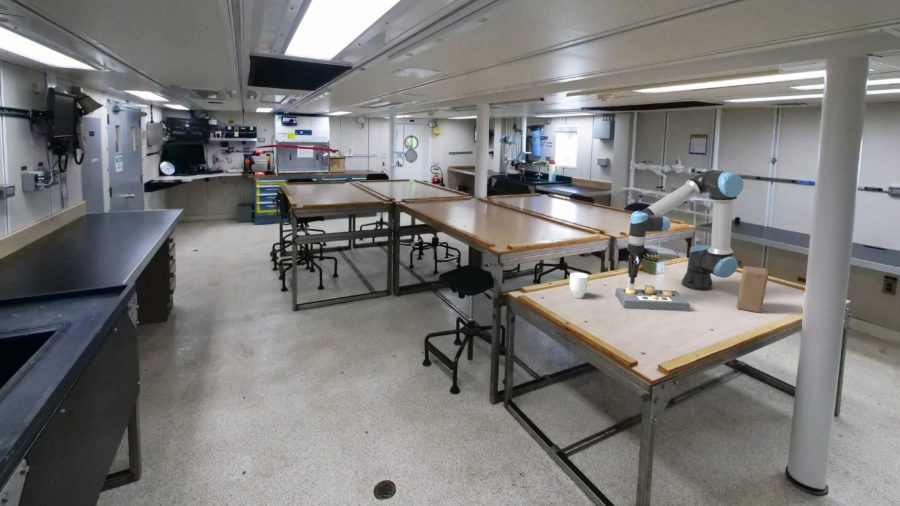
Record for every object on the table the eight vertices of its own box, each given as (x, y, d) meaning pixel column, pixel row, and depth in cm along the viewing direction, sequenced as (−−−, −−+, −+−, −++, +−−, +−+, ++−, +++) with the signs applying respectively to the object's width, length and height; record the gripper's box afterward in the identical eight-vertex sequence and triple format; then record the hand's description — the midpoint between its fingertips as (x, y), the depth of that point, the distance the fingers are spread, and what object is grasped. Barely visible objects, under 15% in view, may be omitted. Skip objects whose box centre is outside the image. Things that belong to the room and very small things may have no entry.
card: (668, 298, 228) (669, 295, 228) (672, 301, 224) (672, 298, 223) (637, 296, 230) (637, 293, 230) (640, 300, 225) (640, 297, 225)
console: (675, 298, 240) (676, 290, 239) (688, 311, 222) (689, 303, 221) (615, 295, 243) (616, 288, 242) (623, 308, 226) (624, 300, 225)
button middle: (652, 293, 238) (653, 285, 237) (654, 296, 233) (656, 288, 232) (642, 293, 238) (643, 285, 237) (645, 296, 234) (646, 288, 233)
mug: (589, 299, 237) (590, 276, 234) (573, 300, 236) (574, 278, 233) (579, 291, 248) (580, 270, 245) (564, 292, 247) (565, 271, 244)
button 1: (633, 296, 239) (634, 288, 238) (636, 299, 235) (637, 291, 233) (623, 295, 240) (624, 287, 239) (626, 298, 235) (627, 290, 234)
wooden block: (760, 313, 220) (768, 273, 215) (736, 309, 225) (743, 270, 220) (760, 307, 229) (768, 268, 223) (736, 303, 234) (743, 265, 228)
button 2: (669, 298, 237) (670, 290, 236) (673, 301, 233) (674, 293, 232) (660, 298, 238) (661, 289, 237) (663, 301, 233) (664, 293, 232)
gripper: (624, 240, 236) (619, 284, 243) (631, 246, 224) (626, 292, 230) (640, 241, 236) (634, 285, 242) (647, 247, 223) (642, 293, 229)
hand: (630, 288), depth 236 cm, fingers closed
